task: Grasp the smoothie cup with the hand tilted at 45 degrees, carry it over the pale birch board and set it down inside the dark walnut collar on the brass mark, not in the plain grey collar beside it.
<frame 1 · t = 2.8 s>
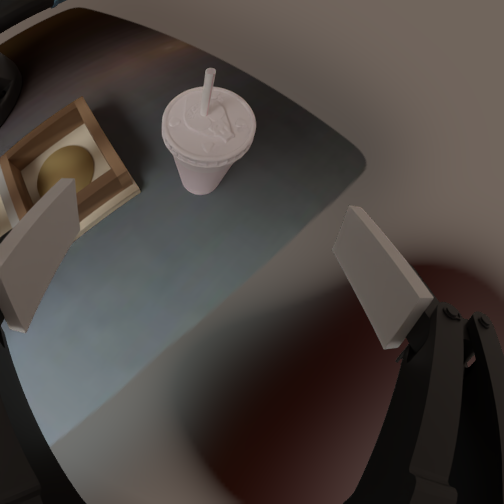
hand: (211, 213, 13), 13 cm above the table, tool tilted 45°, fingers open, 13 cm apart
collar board: (31, 209, 23), on the table
smoothie: (200, 177, 27), on the table
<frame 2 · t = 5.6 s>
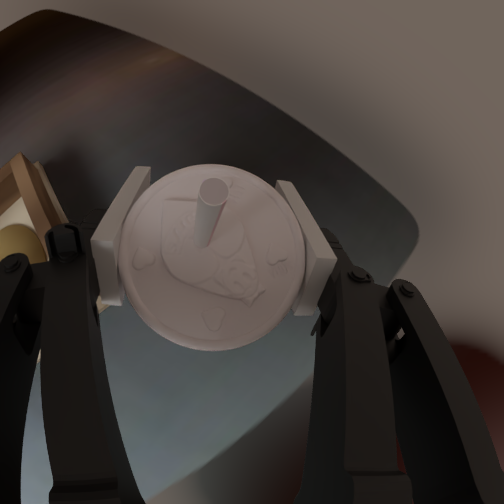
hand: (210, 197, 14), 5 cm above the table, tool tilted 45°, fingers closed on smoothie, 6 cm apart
smoothie: (200, 277, 19), on the table, touching gripper
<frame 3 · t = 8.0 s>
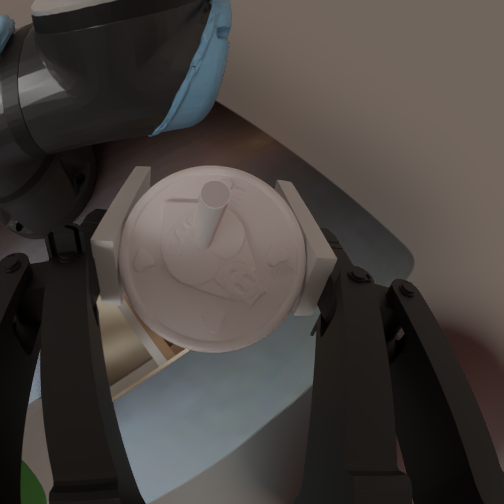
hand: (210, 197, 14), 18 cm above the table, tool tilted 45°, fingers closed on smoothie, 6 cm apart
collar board: (143, 313, 30), on the table
wine bottle: (66, 418, 25), on the table
smoothie: (201, 277, 19), point 13 cm above the table, touching gripper
when the fingers open (8 cm above the table, at t = 10.5 s): smoothie drops 2 cm, resting on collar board.
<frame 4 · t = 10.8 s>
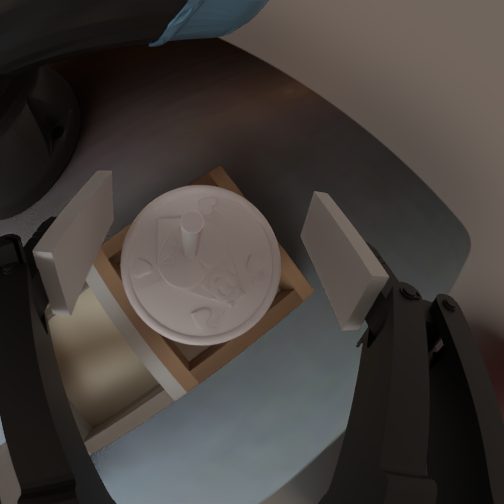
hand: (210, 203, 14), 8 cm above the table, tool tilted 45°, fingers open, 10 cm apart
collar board: (145, 319, 20), on the table
wine bottle: (51, 460, 16), on the table
smoothie: (195, 280, 20), point 1 cm above the table, touching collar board
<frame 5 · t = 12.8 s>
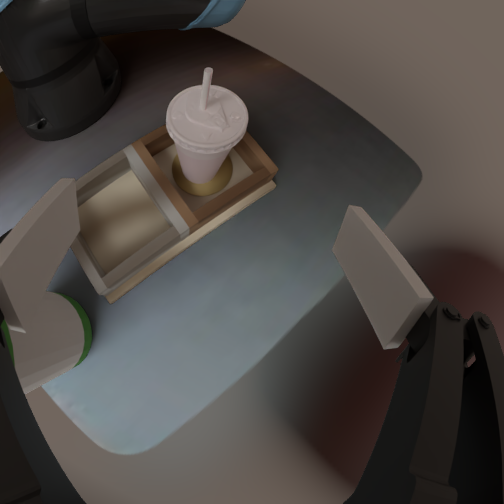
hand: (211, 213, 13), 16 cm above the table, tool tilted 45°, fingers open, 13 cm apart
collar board: (162, 196, 29), on the table
wine bottle: (63, 330, 25), on the table
smoothie: (199, 168, 30), point 1 cm above the table, touching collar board
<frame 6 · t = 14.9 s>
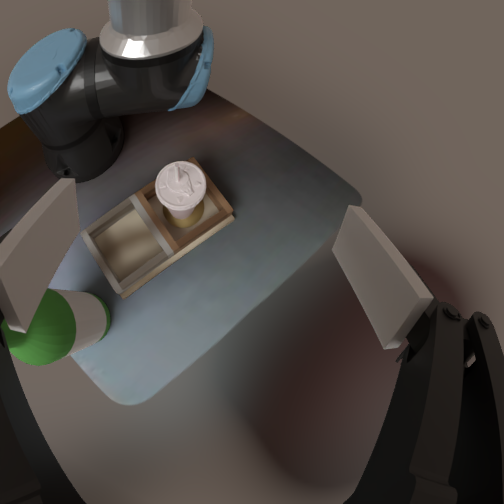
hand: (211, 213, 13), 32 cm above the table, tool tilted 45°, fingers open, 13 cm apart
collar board: (157, 227, 43), on the table
wine bottle: (90, 317, 39), on the table
smoothie: (181, 208, 44), point 1 cm above the table, touching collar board
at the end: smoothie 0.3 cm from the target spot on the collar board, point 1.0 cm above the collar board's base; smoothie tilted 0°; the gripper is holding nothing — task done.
